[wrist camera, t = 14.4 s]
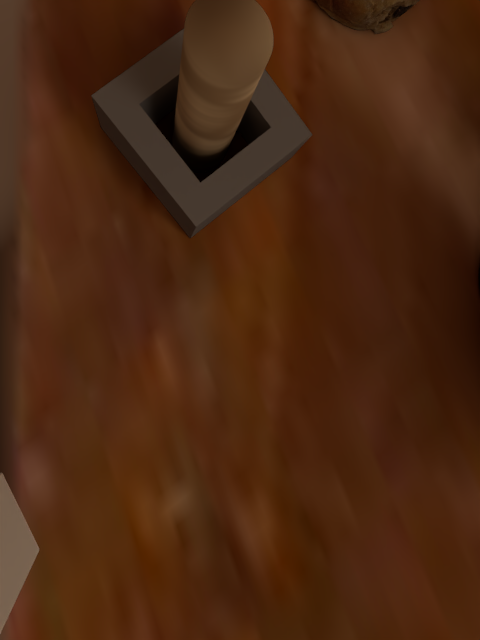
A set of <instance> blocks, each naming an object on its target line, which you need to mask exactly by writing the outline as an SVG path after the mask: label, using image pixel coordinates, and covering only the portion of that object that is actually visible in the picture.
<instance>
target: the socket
mask: <svg viewBox="0 0 480 640" xmlns="http://www.w3.org/2000/svg"><path fill="white" fill-rule="evenodd" d="M183 35H184V29H183V30H181V31H180V32H178V33H177V34H176V35H174V36H173V37H172V38H170V39H169V40H167V41H166V42H165V43H163V44H162V45H161V46H159V47H158V48H156V49H155V50H154V51H152V52H151V53H149V54H148V55H147V56H145V57H144V58H143V59H141V60H140V61H138V62H137V63H136V64H134V65H133V66H131V67H130V68H129V69H127V70H126V71H125V72H123V73H122V74H120V75H119V76H118V77H116V78H115V79H113V80H112V81H111V82H109V83H108V84H107V85H105V86H104V87H102V88H101V89H100V90H98V91H97V92H95V93H94V94H93V95H91V96H92V99H93V103H94V106H95V109H96V113H97V116H98V119H99V123H100V126H101V128H102V129H103V131H104V132H105V133H106V134H107V136H108V137H109V138H110V139H111V140H112V142H113V143H114V144H115V145H116V147H117V148H118V149H119V150H120V152H121V153H122V154H123V155H124V157H125V158H126V159H127V160H128V162H129V163H130V164H131V165H132V167H133V168H134V169H135V170H136V172H137V173H138V174H139V175H140V177H141V178H142V179H143V180H144V182H145V183H146V184H147V185H148V186H149V188H150V189H151V190H152V191H153V193H154V194H155V195H156V196H157V198H158V199H159V200H160V201H161V203H162V204H163V205H164V206H165V208H166V209H167V210H168V211H169V213H170V214H171V215H172V216H173V218H174V219H175V220H176V221H177V223H178V224H179V225H180V226H181V228H182V229H183V230H184V231H185V232H186V234H187V235H188V236H189V237H190V238H191V237H193V236H194V235H195V234H196V233H198V232H199V231H200V230H201V229H203V228H204V227H205V226H206V225H208V224H209V223H210V222H211V221H213V220H214V219H215V218H216V217H218V216H219V215H220V214H221V213H223V212H224V211H225V210H226V209H228V208H229V207H230V206H231V205H233V204H234V203H235V202H236V201H238V200H239V199H240V198H242V197H243V196H244V195H245V194H247V193H248V192H249V191H250V190H252V189H253V188H254V187H255V186H257V185H258V184H259V183H260V182H262V181H263V180H264V179H265V178H267V177H268V176H269V175H270V174H272V173H273V172H274V171H275V170H277V169H278V168H279V167H280V166H282V165H283V164H284V163H285V162H287V161H288V160H289V159H290V158H291V157H292V156H293V155H294V154H295V153H296V152H297V151H298V150H299V149H300V148H301V146H302V145H303V144H304V143H305V142H306V141H307V140H308V139H309V138H310V137H311V136H312V133H311V132H310V131H309V129H308V128H307V127H306V125H305V124H304V122H303V121H302V120H301V118H300V117H299V116H298V114H297V113H296V111H295V110H294V109H293V107H292V106H291V105H290V103H289V102H288V100H287V99H286V98H285V96H284V95H283V94H282V92H281V91H280V89H279V88H278V87H277V85H276V84H275V83H274V81H273V80H272V78H271V77H270V76H269V74H268V73H267V72H266V70H265V69H264V72H263V74H262V76H261V78H260V80H259V82H258V85H257V87H256V89H255V91H254V93H253V95H252V98H251V100H250V102H249V104H248V106H247V108H246V111H245V113H244V115H243V117H242V119H241V122H240V124H239V126H238V128H237V130H238V131H239V132H240V134H241V135H242V136H243V138H244V139H245V140H246V142H247V143H248V144H249V145H248V146H247V147H246V148H244V149H243V150H242V151H240V152H239V153H238V154H237V155H235V156H234V157H233V158H231V159H230V160H229V161H228V162H226V163H225V164H224V165H222V166H221V167H220V168H219V169H217V170H216V171H215V172H214V173H212V174H211V175H210V176H208V177H207V178H206V179H205V180H203V181H202V182H201V183H200V181H199V180H198V179H197V178H196V176H195V175H194V174H193V172H192V171H191V170H190V169H189V167H188V166H187V165H186V164H185V162H184V161H183V160H182V158H181V157H180V156H179V155H178V153H177V152H176V151H175V149H174V148H173V147H172V146H171V144H170V143H169V142H168V141H167V139H166V138H165V137H164V135H163V134H162V133H161V132H160V130H159V129H158V128H157V126H156V125H155V123H156V122H158V121H159V120H160V119H162V118H163V117H164V116H166V115H167V114H168V113H170V112H171V111H172V110H174V109H175V108H176V102H177V92H178V83H179V73H180V63H181V54H182V44H183Z"/></svg>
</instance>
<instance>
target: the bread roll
mask: <svg viewBox="0 0 480 640" xmlns="http://www.w3.org/2000/svg"><path fill="white" fill-rule="evenodd" d="M316 1H317V3H318V5H319V7H320V8H321V9H324V10H325V12H326V13H327V14H328V15H329V16H330V17H331V18H332V19H335V20H337V21H339V22H341V23H342V24H344V25H346V26H348V27H350V28H352V29H355V30H368V29H371V30H373V31H374V32H375V34H378V33H382V32H386V31H388V30H389V29H391V28H392V27H393V25H392V23H391V22H392V21H394V20H396V19H397V18H398V17H399V16H401V15H402V14H404V13H405V12H406V11H407V10H409V9H411V8H412V7H413V6H414V5H415V4H416V3H417V2H418V1H419V0H316Z"/></svg>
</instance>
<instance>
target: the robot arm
mask: <svg viewBox="0 0 480 640" xmlns="http://www.w3.org/2000/svg"><path fill="white" fill-rule="evenodd" d="M479 284H480V268H479ZM39 550H40V549H39V547H38V545H37V543H36V541H35V539H34V537H33V535H32V533H31V531H30V529H29V527H28V525H27V523H26V521H25V518H24V516H23V514H22V512H21V510H20V508H19V506H18V504H17V502H16V500H15V498H14V496H13V494H12V492H11V490H10V488H9V486H8V484H7V482H6V480H5V478H4V476H3V474H2V473H0V633H1V631H2V629H3V627H4V625H5V623H6V620H7V618H8V616H9V614H10V612H11V610H12V608H13V605H14V603H15V601H16V599H17V597H18V595H19V593H20V590H21V588H22V586H23V584H24V582H25V580H26V578H27V575H28V573H29V571H30V569H31V567H32V565H33V563H34V560H35V558H36V556H37V554H38V552H39Z"/></svg>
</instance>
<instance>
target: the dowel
mask: <svg viewBox="0 0 480 640" xmlns="http://www.w3.org/2000/svg"><path fill="white" fill-rule="evenodd" d="M273 40H274V38H273V30H272V26H271V23H270V20H269V18H268V16H267V14H266V13H265V11H264V10H263V9H262V7H261V6H260V5H259V4H258V3H257V2H256V1H255V0H196V1H195V2H194V3H193V4H192V6H191V7H190V9H189V11H188V13H187V16H186V19H185V25H184V35H183V44H182V54H181V63H180V73H179V83H178V92H177V102H176V112H175V121H174V131H173V140H172V146H173V148H174V149H175V151H176V152H177V153H178V155H179V156H180V157H181V158H182V160H183V161H184V162H185V164H186V165H187V166H188V167H189V169H190V170H191V171H194V172H200V173H201V172H208V171H211V170H213V169H215V168H216V167H217V166H218V165H219V164H220V163H221V162H222V160H223V158H224V156H225V154H226V152H227V150H228V148H229V145H230V143H231V141H232V139H233V137H234V135H235V132H236V130H237V128H238V126H239V124H240V122H241V119H242V117H243V115H244V113H245V111H246V108H247V106H248V104H249V102H250V100H251V98H252V95H253V93H254V91H255V89H256V87H257V85H258V82H259V80H260V78H261V76H262V74H263V72H264V69H265V67H266V65H267V63H268V61H269V58H270V56H271V53H272V50H273Z"/></svg>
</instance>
